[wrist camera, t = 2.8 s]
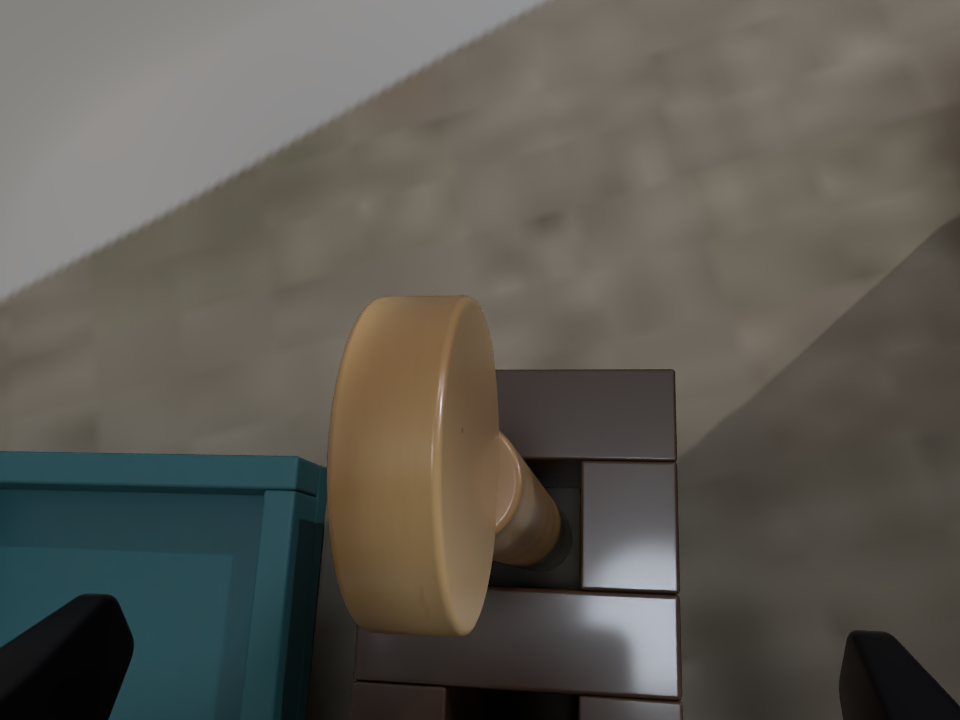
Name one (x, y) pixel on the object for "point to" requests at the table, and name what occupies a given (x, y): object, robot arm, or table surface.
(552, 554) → the tan round-headed peg
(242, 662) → the tray
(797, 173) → the table surface
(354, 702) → the slotted brown holder
